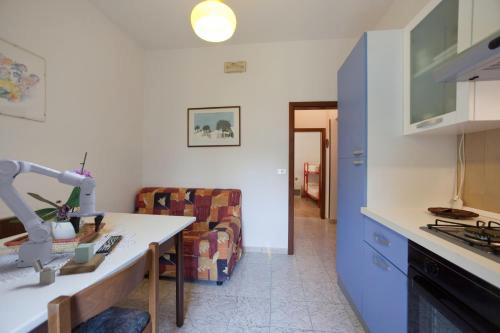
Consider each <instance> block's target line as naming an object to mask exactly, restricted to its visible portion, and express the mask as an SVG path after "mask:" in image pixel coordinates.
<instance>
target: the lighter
mask: <svg viewBox="0 0 500 333" xmlns="http://www.w3.org/2000/svg"><path fill="white" fill-rule="evenodd" d="M31 263H32V265H33V266H32V267H33V269H34V272H35V273H36V274H37V273H39V285H52V284H54V283H55V282H56V269H55V268H53V269H52V267H51V266H46V267H44V265H43V264H42V262H41V260H40V258H39V259H37V260H34V261H32V262H31Z"/></svg>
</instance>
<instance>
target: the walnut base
mask: <svg viewBox="0 0 500 333" xmlns="http://www.w3.org/2000/svg"><path fill="white" fill-rule="evenodd" d="M104 261H106V253H95V254H94V253H93V258H92V259H91V260H90V261H89V262H85V263H75V256H72V258H71V259H70V260H69V261H67V262H66V263H65V264H64V265H62V266H61V267H60V268H59V276H66V275H73V274H75V275H76V274H82V273H83V274H84V273H91V272H96V270H97V269H98V268H99V267H100V266H101V264H103V263H104Z"/></svg>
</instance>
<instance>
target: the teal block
mask: <svg viewBox="0 0 500 333" xmlns="http://www.w3.org/2000/svg"><path fill="white" fill-rule="evenodd" d="M94 243H95V242H91V243H80V244H79V245H78V246H76V247H75V248H74V257H75V263H85V262H89V261H90V260H91V259H92V258H93V254H94V249H95V248H94Z"/></svg>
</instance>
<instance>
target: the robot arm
mask: <svg viewBox="0 0 500 333" xmlns="http://www.w3.org/2000/svg"><path fill="white" fill-rule="evenodd" d="M25 173H27V174H28V173H34V174H38V175H43V176H46V177H50V178H54V179H57V181H58V182H59V184H64V185H68V186H71V187H74V188H78V187H80V193H79V211H77V212H69V213H67V214H66V218H67V219H68V222H69V223H70V224H71V226H72V227H73V230H74V233H75V234H77V235H78V234H79V233H80V222H81V218H86V217H87V218H91V217H94V218H93V219H94V220H93V221H94V232H95V233H98V232H99V229H100V226H101V224H102V221H103V220H104V218H105V217H106V216H107V211H98V210H97V211H96V186H97V182H96V181H95V179H94V178H92V177H90V176H86V174H83V175H82V174H79V173H76V172H74V170H63V171H59V170H56V169H53V168H49V167H47V166H43V165H40V164H37V163H34V162H30V161H25V160H19V159H17V158H2V159H0V200H1V201H2V202H3V203H4V204H5V205H6V206H7V207H8V208H9V209H10V211H11V212H12V213H13V214H14V216H16V218H17V219H18V221H20V223H22V225H23V226H24V229H25V231H26V233H27V238H28V241H23V242H22V243H21V244H20V246H19V248H18V253H17V254H18V258H17V259H18V260H17V261H18V264H17V265H16V268H25V267H33V265H32V263H31V262H32V261H34V260H37V259H39V258H40V260H41V262H42V264H43V266H44V265H48V264H49V263H51V262H52V261H53V260H55V259H56V258H57V257H58V255H53V241H54V240H53V239H54V238H53V236H51V232H52V231H53V226H52V224H51V223H49V222H46V221H45V220H43V218H42V217H40V216H39V215H38V214H37V213H36V212H35V210H34V209H33V208H32V206H31V205H30V204H29V203H28V202H27V201H26V200H25V198H24V197H23V196H22V195H21V193H19V191H18V190H17V189H16V187H15V186H14V185H13V183H14V181H15V180H16V177H17V176H19V175H20V174H25Z"/></svg>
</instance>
